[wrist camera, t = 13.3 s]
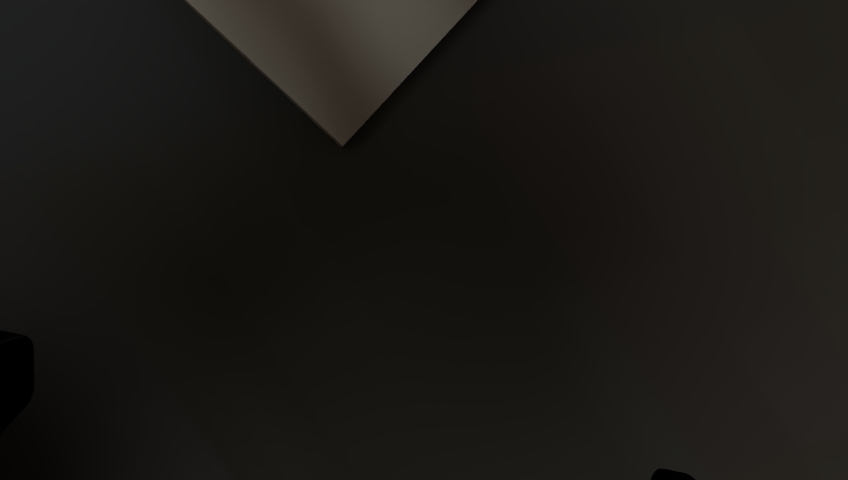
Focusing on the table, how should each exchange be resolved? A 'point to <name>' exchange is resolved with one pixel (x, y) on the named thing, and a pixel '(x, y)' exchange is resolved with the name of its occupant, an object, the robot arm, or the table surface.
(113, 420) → the table surface
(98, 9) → the table surface
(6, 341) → the robot arm
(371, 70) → the oak plinth
